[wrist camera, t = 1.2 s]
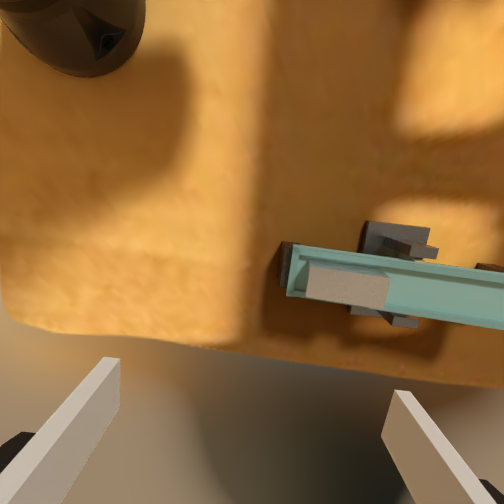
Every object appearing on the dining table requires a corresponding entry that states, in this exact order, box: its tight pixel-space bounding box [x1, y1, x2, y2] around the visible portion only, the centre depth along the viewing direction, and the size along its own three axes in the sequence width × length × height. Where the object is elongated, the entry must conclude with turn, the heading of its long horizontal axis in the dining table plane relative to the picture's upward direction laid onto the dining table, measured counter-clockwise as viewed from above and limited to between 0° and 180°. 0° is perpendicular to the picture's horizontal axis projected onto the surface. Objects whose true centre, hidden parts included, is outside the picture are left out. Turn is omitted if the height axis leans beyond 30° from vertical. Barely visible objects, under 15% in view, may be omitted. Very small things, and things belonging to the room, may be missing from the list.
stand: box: [277, 221, 504, 328], centre depth 33 cm, size 13×29×7 cm, turn 84°
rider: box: [304, 259, 391, 310], centre depth 29 cm, size 3×8×4 cm, turn 84°
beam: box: [286, 244, 504, 330], centre depth 30 cm, size 7×28×2 cm, turn 84°
